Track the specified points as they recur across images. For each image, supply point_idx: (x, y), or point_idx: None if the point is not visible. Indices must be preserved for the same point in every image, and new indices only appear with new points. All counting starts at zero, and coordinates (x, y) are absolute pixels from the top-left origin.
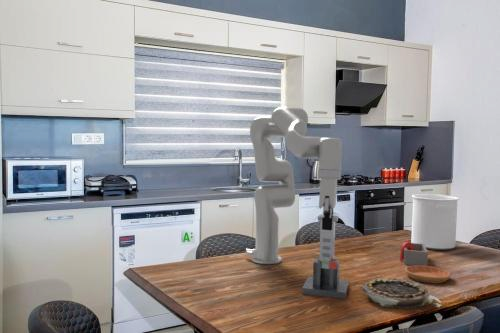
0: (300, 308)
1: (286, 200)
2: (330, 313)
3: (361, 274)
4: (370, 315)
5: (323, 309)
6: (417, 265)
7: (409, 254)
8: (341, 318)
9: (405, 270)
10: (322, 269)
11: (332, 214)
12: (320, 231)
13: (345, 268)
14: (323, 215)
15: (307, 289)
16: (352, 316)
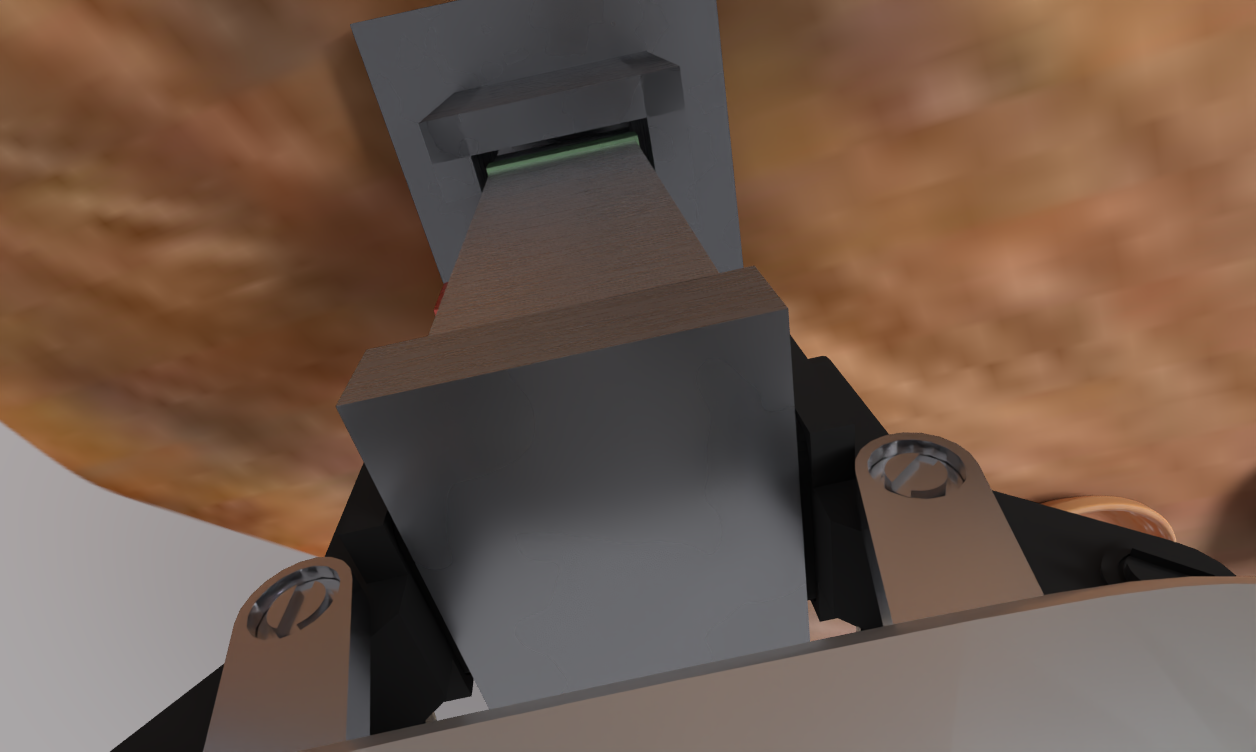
0: (73, 134)
1: None
2: (166, 329)
3: (1030, 274)
4: (311, 493)
5: (192, 274)
6: (1173, 540)
7: None
8: (148, 398)
9: (1068, 507)
10: (637, 134)
11: (854, 623)
12: (442, 305)
13: (1174, 126)
14: (242, 650)
15: (370, 72)
16: (225, 433)
